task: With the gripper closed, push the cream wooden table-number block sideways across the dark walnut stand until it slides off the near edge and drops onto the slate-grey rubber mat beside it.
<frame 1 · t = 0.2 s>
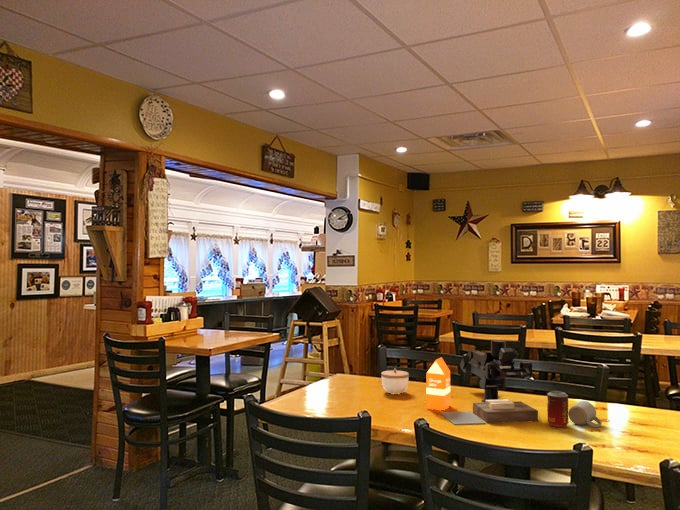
hand: (518, 375, 205), 17 cm above the table, tool horizontal, fingers open, 9 cm apart
lidded bowl: (394, 393, 247), on the table
soda can: (557, 427, 196), on the table
number block: (499, 406, 207), point 4 cm above the table, touching walnut stand
walnut stand: (504, 417, 208), on the table
orange juice: (438, 407, 222), on the table
ceramic mug: (585, 424, 199), on the table
rubber mat: (462, 418, 205), on the table
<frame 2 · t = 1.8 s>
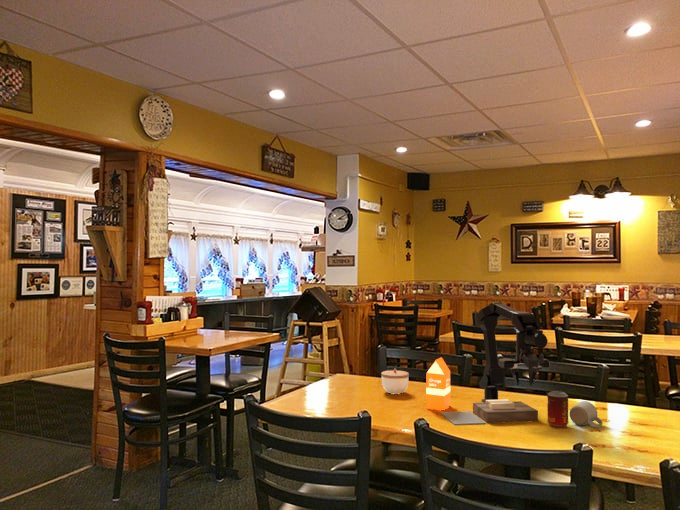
hand: (524, 385, 209), 12 cm above the table, tool pointing down, fingers open, 5 cm apart
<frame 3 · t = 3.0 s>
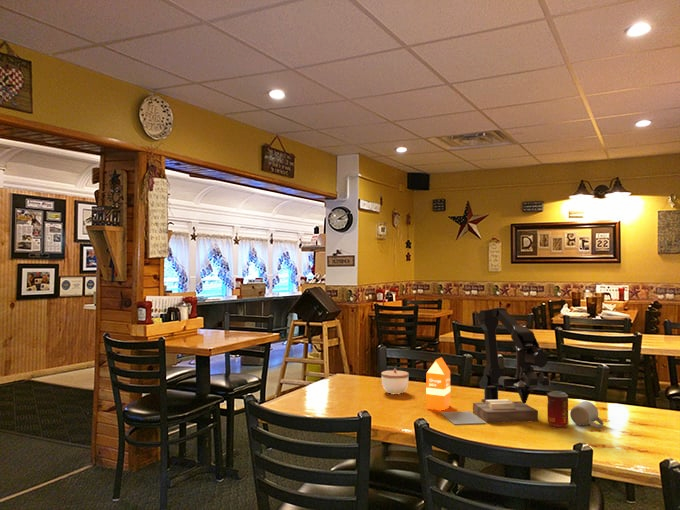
hand: (524, 403, 209), 5 cm above the table, tool pointing down, fingers closed
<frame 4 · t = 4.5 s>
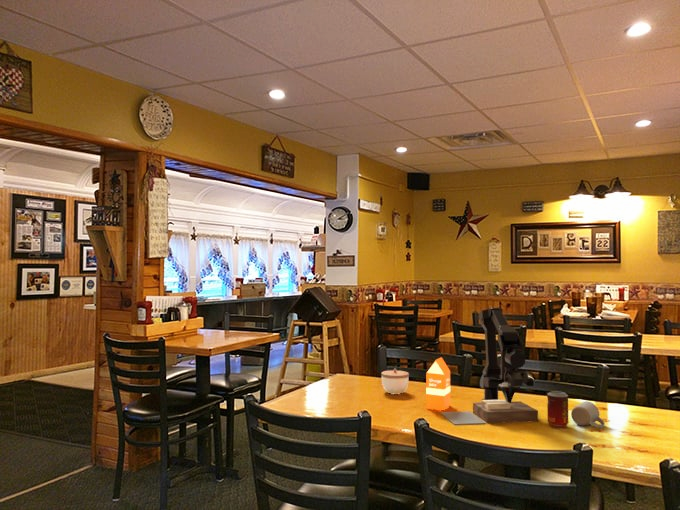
hand: (508, 403, 208), 5 cm above the table, tool pointing down, fingers closed
number block: (495, 406, 207), point 4 cm above the table, touching gripper, walnut stand
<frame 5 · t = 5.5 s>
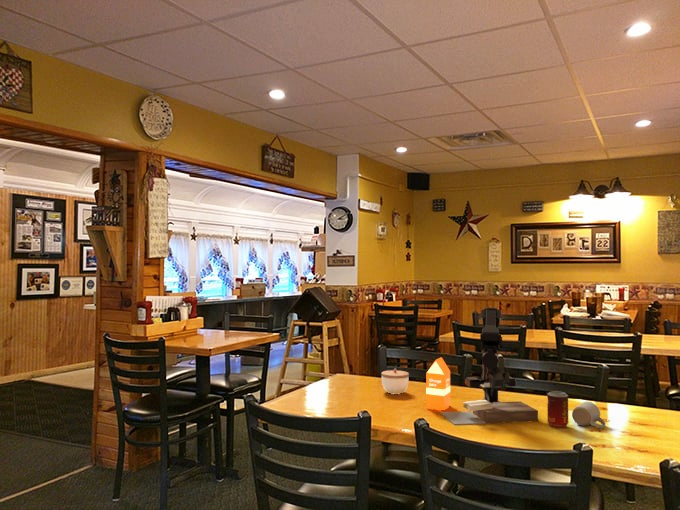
hand: (490, 404, 207), 5 cm above the table, tool pointing down, fingers closed
number block: (477, 407, 206), point 4 cm above the table, touching gripper, walnut stand
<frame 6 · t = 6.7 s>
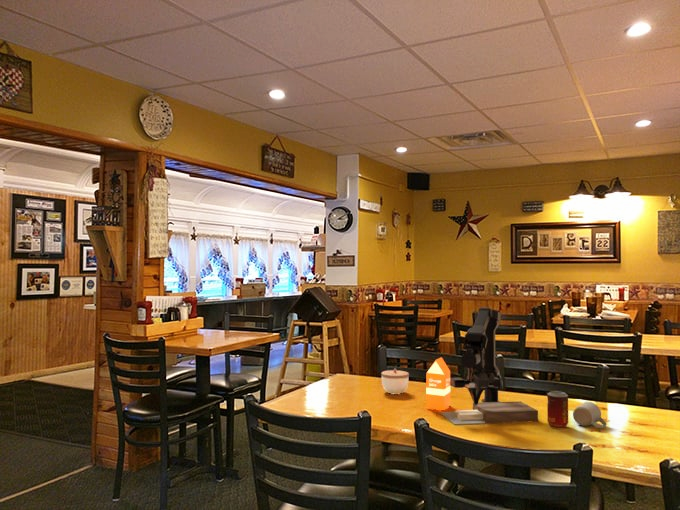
hand: (475, 404, 206), 5 cm above the table, tool pointing down, fingers closed
number block: (468, 417, 205), resting on rubber mat
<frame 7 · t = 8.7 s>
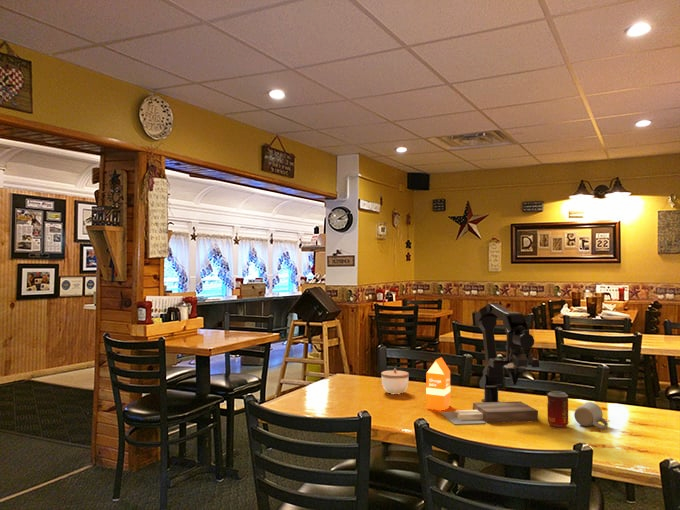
hand: (514, 384, 210), 12 cm above the table, tool pointing down, fingers closed
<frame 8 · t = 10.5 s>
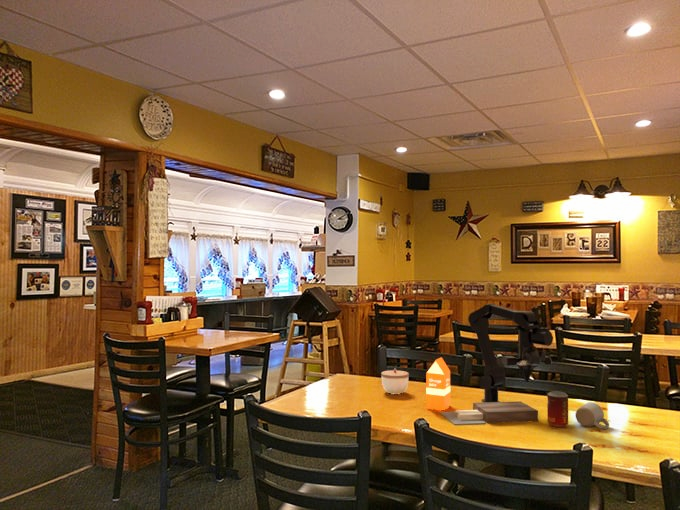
hand: (526, 381, 215), 12 cm above the table, tool pointing down, fingers closed
at the end: number block inside the target area (1.9 cm from its centre), resting on rubber mat; number block touching rubber mat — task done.
